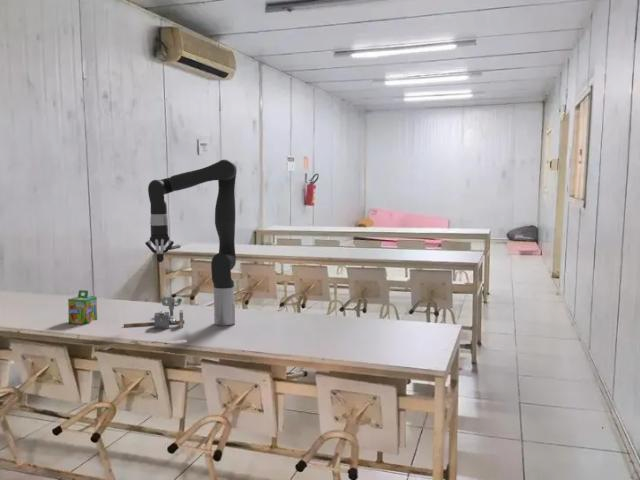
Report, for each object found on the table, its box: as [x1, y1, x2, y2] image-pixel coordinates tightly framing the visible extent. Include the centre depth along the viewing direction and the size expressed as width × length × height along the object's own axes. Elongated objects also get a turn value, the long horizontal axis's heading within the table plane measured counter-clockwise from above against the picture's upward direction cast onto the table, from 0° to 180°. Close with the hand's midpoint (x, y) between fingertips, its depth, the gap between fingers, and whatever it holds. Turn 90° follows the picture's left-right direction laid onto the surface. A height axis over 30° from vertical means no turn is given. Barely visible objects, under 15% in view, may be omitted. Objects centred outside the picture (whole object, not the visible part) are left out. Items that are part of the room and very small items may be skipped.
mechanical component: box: [160, 296, 183, 317], centre depth 254 cm, size 3×10×10 cm, turn 79°
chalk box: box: [67, 289, 98, 325], centre depth 247 cm, size 9×9×15 cm
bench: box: [123, 309, 185, 329], centre depth 232 cm, size 26×10×8 cm, turn 104°
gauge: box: [153, 310, 177, 330], centre depth 232 cm, size 9×8×7 cm
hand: (160, 261), depth 241 cm, fingers closed
